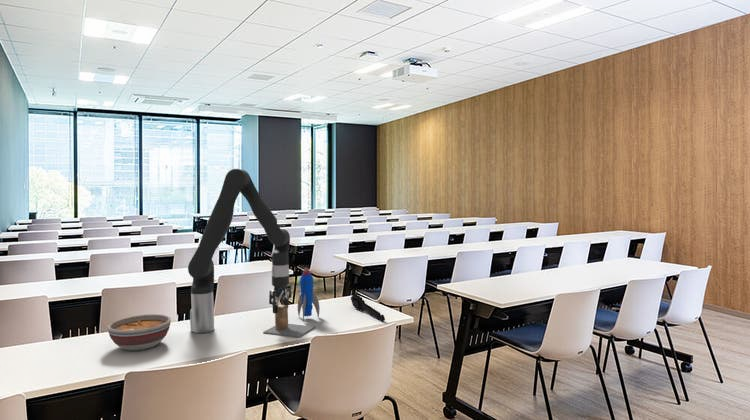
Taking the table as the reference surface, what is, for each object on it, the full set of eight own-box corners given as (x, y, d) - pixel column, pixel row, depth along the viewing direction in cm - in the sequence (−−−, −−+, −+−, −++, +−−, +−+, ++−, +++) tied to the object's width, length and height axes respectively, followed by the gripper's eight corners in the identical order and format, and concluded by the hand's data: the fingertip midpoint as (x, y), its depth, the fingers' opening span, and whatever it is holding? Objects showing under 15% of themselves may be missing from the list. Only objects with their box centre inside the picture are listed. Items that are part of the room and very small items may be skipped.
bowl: (130, 360, 178) (129, 334, 178) (96, 350, 190) (95, 325, 190) (183, 342, 198) (182, 318, 197) (149, 333, 210) (148, 311, 209)
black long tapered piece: (387, 322, 223) (387, 306, 222) (380, 324, 221) (380, 307, 221) (354, 305, 254) (354, 291, 254) (348, 306, 252) (348, 292, 252)
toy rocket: (319, 317, 232) (318, 266, 231) (315, 322, 223) (314, 269, 221) (298, 316, 233) (296, 265, 232) (292, 322, 224) (291, 269, 222)
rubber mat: (263, 333, 208) (263, 331, 208) (280, 324, 221) (280, 322, 221) (299, 337, 202) (299, 336, 202) (315, 327, 215) (315, 326, 215)
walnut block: (275, 329, 212) (274, 306, 211) (280, 326, 216) (279, 304, 215) (283, 330, 210) (282, 307, 210) (288, 327, 214) (287, 305, 214)
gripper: (281, 271, 219) (282, 306, 220) (263, 276, 206) (264, 314, 207) (296, 272, 217) (296, 307, 218) (278, 278, 204) (279, 315, 204)
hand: (280, 310), depth 212 cm, fingers open, 8 cm apart
